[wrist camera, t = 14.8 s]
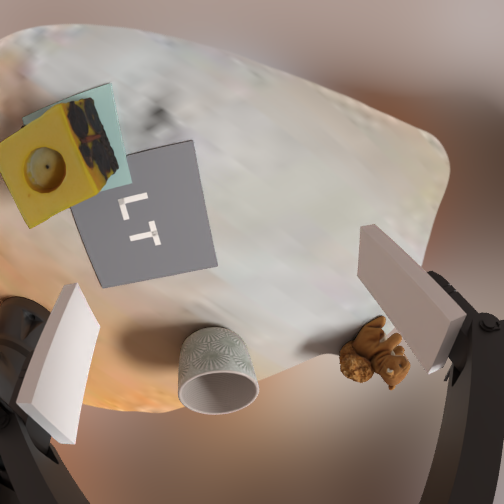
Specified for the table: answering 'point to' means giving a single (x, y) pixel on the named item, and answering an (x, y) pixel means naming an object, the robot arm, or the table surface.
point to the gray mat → (149, 220)
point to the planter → (216, 372)
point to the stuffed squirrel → (374, 355)
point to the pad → (111, 126)
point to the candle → (57, 160)
